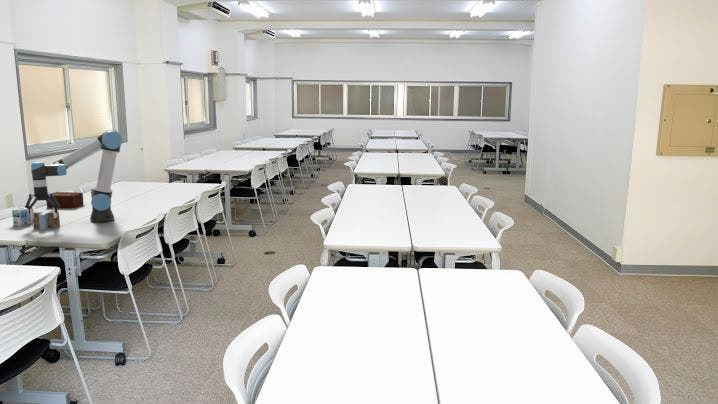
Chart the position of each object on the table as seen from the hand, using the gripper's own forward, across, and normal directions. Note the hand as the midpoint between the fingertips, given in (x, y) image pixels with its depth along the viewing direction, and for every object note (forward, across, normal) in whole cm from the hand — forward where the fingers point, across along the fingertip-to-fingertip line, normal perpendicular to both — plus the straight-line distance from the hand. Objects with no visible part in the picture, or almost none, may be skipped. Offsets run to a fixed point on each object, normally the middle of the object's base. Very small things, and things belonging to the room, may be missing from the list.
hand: (44, 218), depth 341 cm
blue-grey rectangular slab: (+7, +1, -4) cm, 8 cm away
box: (+8, +14, -74) cm, 76 cm away
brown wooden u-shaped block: (+7, +1, -4) cm, 8 cm away
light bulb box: (+7, +19, -14) cm, 24 cm away
